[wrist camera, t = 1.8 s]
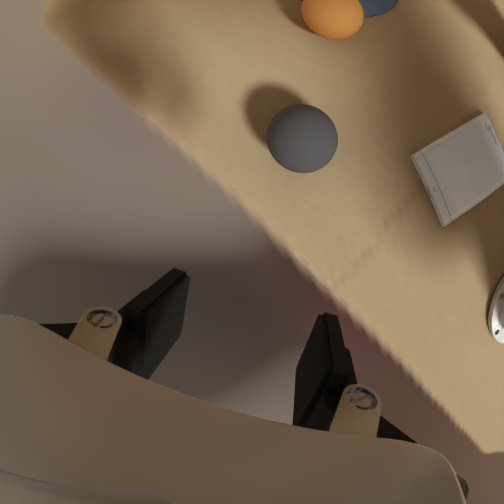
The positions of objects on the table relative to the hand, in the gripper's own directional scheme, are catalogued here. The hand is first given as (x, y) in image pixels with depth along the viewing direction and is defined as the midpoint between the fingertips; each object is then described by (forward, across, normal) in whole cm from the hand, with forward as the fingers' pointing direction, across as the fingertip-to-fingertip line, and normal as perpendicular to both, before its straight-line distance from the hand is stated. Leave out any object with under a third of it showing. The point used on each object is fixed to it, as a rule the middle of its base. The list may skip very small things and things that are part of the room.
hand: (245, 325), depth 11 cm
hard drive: (+18, -18, -14) cm, 29 cm away
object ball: (+14, 0, -24) cm, 28 cm away
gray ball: (+14, 0, -10) cm, 17 cm away
